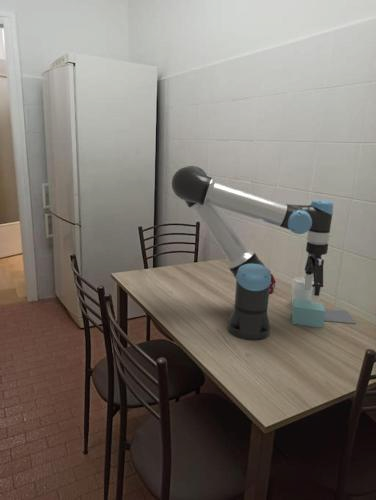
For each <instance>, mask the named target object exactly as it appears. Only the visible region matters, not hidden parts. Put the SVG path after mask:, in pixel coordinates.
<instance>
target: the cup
mask: <svg viewBox="0 0 376 500" xmlns="http://www.w3.org/2000/svg"><path fill="white" fill-rule="evenodd" d="M304 283H305V276H296V277H293V278H292V282H291V307H293V299H301V300H309V301H311V297H312V289H313V287H311V291H310V290H304ZM313 284H314V279H312V285H313Z"/></svg>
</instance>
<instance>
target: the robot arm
mask: <svg viewBox="0 0 376 500" xmlns="http://www.w3.org/2000/svg"><path fill="white" fill-rule="evenodd" d="M171 189H172V191H173V193H174V195H175V196H176V197H177V198H179V199H181V200H182V201H184V202H185V204H186V205H187V207H188V208H189V209H192V210H195V212H196V214H198V216H199V218H200V219H201V221H202V222H203V223H204V225H205V227H206V228H207V230H208V231H209V233H210V235H211V236H212V237H213V239H214V241H215V242H216V243H217V245H218V247H219V248H220V250H221V251H222V253H223V254H224V257H225V258H226V259H227V261H228V265H227V266H228V267H227V268H228V269H229V271H230V273H231V274H232V275H233V277H234V279H235V295H234V306H233V309H232V312H231V315H230V317H229V318H228V319H229V320H228V321H227V330H228V332H229V333H230V334H232V335H233V336H235V337H238V338H241V339H244V340H253V341H254V340H255V341H256V340H258V341H259V340H263V339H266V338H268V336H270V334H271V324H270V320H269V314H268V307H269V306H268V305H269V299H270V298H269V297H270V294H269V290H270V283H271V274H272V273H271V272H272V271H271V270H270V269H269V268H268V267H266V266H265V264H264V263H263V261H261V260H260V259H259V257H258V254H256V251H254V250H252V249H251V250H250V249H248V247H247V246H246V244H245V242H244V241H243V240H242V238H241V236H240V234H239V233H238V231H237V230H236V228H235V227H234V225H233V224H232V222H231V221H230V220H229V218H228V216H227V214H226V212H225V211H224V210H223V209H225V210H227V211H230V212H234V213H237V214H240V215H243V216H247V217H250V218H251V219H255V220H259V221H262V222H265V223H268V224H271V225H275V226H278V227H281V228H283V229H286V230H289V231H291V233H294V234H295V235H303V234H306V233H307V237H306V240H307V242H306V246H305V247H306V248H305V251H306V252H307V259H306V263H305V267H304V272H305V276H304V277H305V283H304V290H310V291H311V287H313V289H312V296H311V300H310V301H311V303H316V304H319V302H320V297H321V290H322V288H324V263H325V260H324V259H323V258H322V256H323V255H327V254H328V250H329V244H328V243H329V240H330V237H331V236H332V234H331V226H332V219H333V216H334V214H333V212H334V203H333V202H332V201H330V200H327V199H326V200H324V199H313V200H311V203H310V205H307V204H306V205H305V204H304V205H302V204H289V203H286V204H285V203H282V202H279V201H275V200H273V199H269V198H267V197H263V196H260V195H258V194H257V195H256V194H254V193H252V192H251V193H250V192H248V191H244V190H241V189H238V188H235V187H233V186H228V185H226V184H223V183H219V182H217V181H216V180H215V179H214V178H213V177H211V176H208V173H206V172H205V170H203V168H200V167H199V166H197V165H196V166H195V165H187V166H184V167H181V168H179V169H178V170H177V171H176V172H175V173H174V174H173V176H172V179H171ZM270 271H271V272H270ZM312 280H314V284H313V285H312Z"/></svg>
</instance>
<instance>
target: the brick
mask: <svg viewBox="0 0 376 500" xmlns="http://www.w3.org/2000/svg"><path fill="white" fill-rule="evenodd" d="M291 307H292V308H291V323H292V324H294V325H298V326H299V325H301V326H306V327H307V326H309V327H312V328H313V327H315V328H322V329H323V326H324V322H325V321H324V315H325V309H326V308H325V306H324V303H323V302H322V301H319V304H316V303H311V300H310V301H309V300H301V299H293V306H291Z"/></svg>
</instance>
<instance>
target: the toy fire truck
mask: <svg viewBox="0 0 376 500" xmlns="http://www.w3.org/2000/svg"><path fill="white" fill-rule="evenodd" d="M270 272H272V271H271V270H270ZM275 288H276V279H275V277H274V275H273V273H271V283H270V290H269V295H270V294H272V293H273V292H274V290H275Z"/></svg>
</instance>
